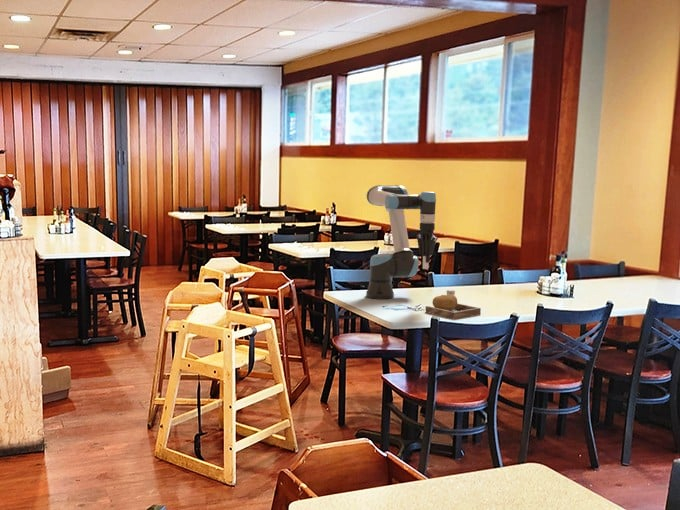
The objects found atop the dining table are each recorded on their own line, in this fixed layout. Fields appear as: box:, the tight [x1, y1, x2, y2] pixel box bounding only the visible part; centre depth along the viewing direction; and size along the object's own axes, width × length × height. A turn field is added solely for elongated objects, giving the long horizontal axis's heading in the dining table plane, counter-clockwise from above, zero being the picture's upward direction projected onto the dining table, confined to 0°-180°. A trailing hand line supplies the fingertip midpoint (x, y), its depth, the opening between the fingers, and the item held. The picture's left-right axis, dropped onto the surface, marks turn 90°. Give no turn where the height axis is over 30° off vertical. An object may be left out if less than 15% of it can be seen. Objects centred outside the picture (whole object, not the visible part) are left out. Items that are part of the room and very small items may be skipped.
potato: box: [432, 294, 458, 311], centre depth 350 cm, size 10×14×8 cm
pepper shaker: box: [446, 289, 456, 297], centre depth 362 cm, size 4×4×8 cm
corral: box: [425, 302, 482, 320], centre depth 346 cm, size 19×19×3 cm
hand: (425, 268), depth 359 cm, fingers closed
